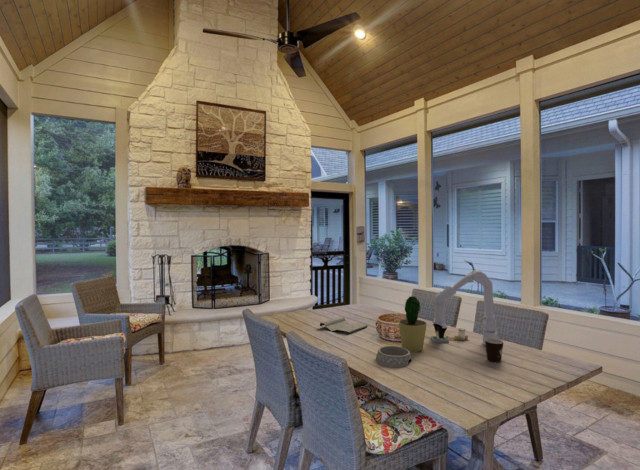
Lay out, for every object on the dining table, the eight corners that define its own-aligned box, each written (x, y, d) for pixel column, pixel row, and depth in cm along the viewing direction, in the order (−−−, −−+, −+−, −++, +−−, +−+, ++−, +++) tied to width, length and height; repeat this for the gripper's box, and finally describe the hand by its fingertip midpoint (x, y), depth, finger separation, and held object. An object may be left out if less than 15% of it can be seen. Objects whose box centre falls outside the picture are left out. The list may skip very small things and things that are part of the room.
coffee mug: (492, 364, 189) (493, 344, 188) (481, 358, 197) (481, 339, 197) (512, 361, 192) (512, 342, 192) (499, 356, 200) (500, 337, 200)
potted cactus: (415, 355, 202) (415, 299, 201) (392, 347, 214) (393, 295, 213) (432, 348, 212) (432, 295, 211) (409, 342, 223) (410, 291, 223)
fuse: (466, 340, 225) (466, 330, 225) (459, 340, 225) (460, 330, 225) (463, 338, 229) (463, 328, 229) (457, 338, 229) (457, 328, 229)
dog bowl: (415, 358, 197) (415, 348, 197) (404, 370, 182) (404, 359, 181) (384, 352, 206) (384, 343, 206) (371, 363, 190) (371, 352, 190)
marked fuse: (444, 342, 222) (444, 332, 222) (437, 342, 222) (437, 332, 222) (441, 340, 226) (441, 330, 226) (435, 340, 226) (435, 330, 226)
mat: (348, 336, 238) (348, 328, 237) (319, 329, 252) (319, 322, 252) (368, 328, 256) (368, 321, 256) (339, 322, 270) (339, 316, 270)
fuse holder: (470, 342, 224) (470, 336, 224) (447, 342, 223) (447, 337, 223) (465, 338, 231) (465, 333, 231) (443, 338, 230) (443, 333, 230)
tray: (448, 344, 220) (448, 340, 220) (435, 344, 220) (435, 340, 220) (443, 339, 228) (443, 336, 228) (430, 340, 228) (430, 336, 228)
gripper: (429, 311, 231) (428, 333, 231) (437, 317, 216) (437, 340, 217) (440, 311, 231) (440, 333, 231) (449, 317, 216) (449, 340, 217)
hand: (439, 337), depth 224 cm, fingers open, 4 cm apart
